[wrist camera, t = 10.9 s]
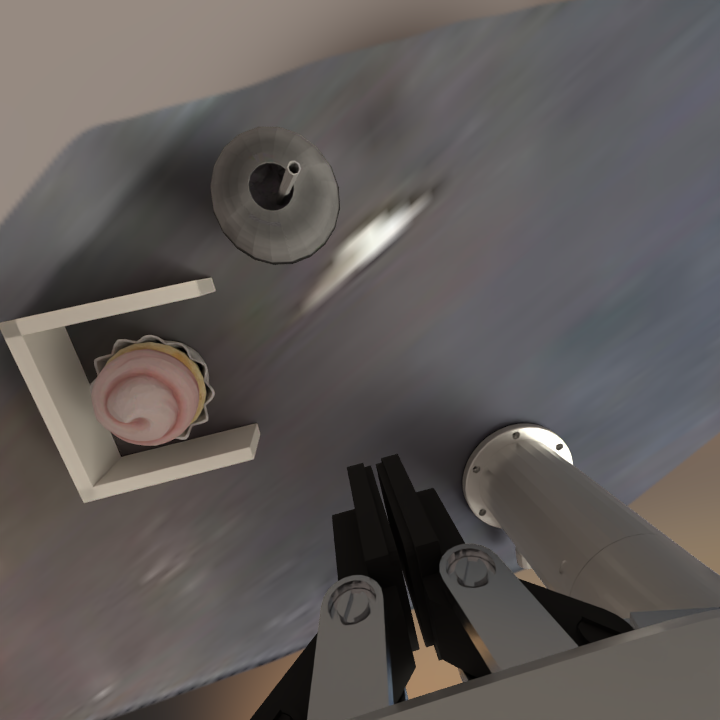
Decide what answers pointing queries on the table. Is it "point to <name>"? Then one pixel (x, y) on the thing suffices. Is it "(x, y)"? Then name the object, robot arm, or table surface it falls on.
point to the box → (75, 409)
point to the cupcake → (151, 390)
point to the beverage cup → (275, 195)
